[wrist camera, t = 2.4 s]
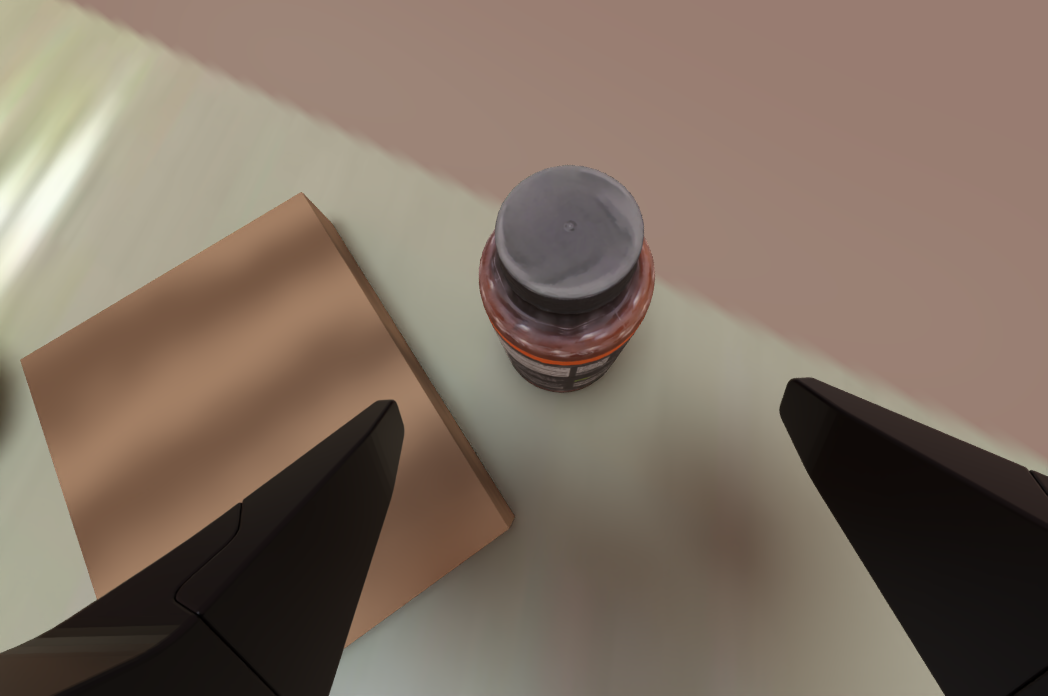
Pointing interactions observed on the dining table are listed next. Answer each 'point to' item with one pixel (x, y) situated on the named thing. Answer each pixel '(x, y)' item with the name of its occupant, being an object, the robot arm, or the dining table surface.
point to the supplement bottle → (566, 275)
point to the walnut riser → (251, 408)
